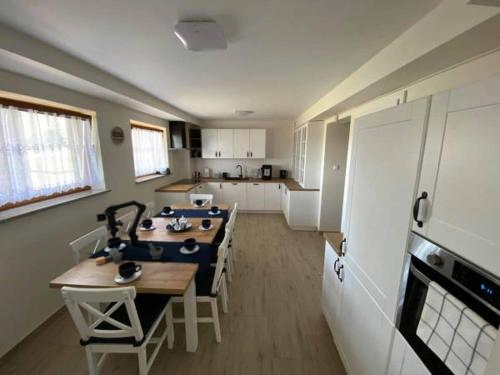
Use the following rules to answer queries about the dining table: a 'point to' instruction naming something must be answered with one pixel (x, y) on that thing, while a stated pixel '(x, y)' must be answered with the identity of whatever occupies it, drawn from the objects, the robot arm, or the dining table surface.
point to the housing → (115, 255)
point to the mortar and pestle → (155, 251)
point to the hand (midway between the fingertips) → (113, 236)
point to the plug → (105, 259)
